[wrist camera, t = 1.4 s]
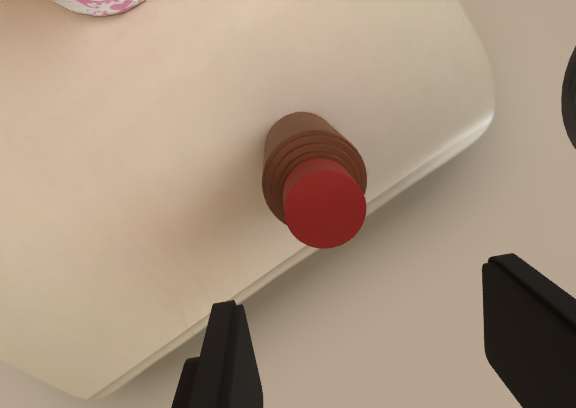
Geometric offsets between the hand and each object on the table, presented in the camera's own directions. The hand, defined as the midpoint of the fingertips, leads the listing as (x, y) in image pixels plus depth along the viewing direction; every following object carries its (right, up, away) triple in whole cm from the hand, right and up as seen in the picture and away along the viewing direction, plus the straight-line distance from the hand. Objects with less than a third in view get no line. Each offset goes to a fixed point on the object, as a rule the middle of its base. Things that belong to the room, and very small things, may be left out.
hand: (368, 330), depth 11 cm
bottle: (-1, +8, +26) cm, 27 cm away
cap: (0, +4, +13) cm, 13 cm away
